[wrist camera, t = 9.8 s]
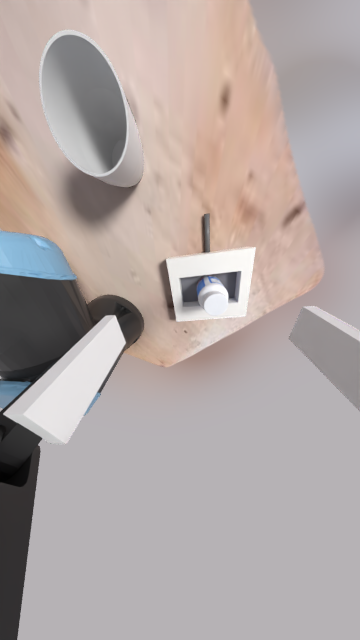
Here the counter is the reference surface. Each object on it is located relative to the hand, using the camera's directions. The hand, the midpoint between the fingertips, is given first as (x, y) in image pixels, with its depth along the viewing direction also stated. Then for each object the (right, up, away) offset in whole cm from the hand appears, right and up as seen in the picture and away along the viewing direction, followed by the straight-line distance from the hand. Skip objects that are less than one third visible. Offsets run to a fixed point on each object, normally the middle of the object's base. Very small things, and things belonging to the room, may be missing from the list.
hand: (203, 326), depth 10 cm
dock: (+4, +11, +19) cm, 22 cm away
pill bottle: (+5, +8, +20) cm, 22 cm away
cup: (-10, +25, +11) cm, 29 cm away
